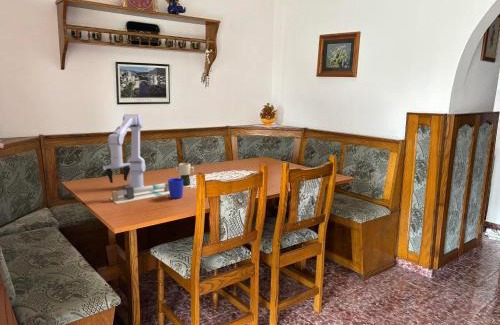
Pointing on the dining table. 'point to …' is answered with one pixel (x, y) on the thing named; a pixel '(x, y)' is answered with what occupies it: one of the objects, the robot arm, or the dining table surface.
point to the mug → (175, 187)
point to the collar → (129, 191)
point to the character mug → (185, 172)
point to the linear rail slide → (119, 198)
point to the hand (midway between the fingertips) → (118, 181)
